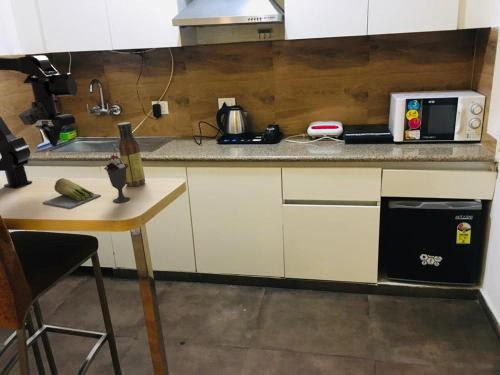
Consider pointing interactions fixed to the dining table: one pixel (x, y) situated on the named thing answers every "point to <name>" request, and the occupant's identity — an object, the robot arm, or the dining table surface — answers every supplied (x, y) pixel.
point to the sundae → (117, 176)
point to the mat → (69, 201)
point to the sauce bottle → (130, 155)
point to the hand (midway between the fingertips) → (54, 146)
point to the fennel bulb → (71, 189)
